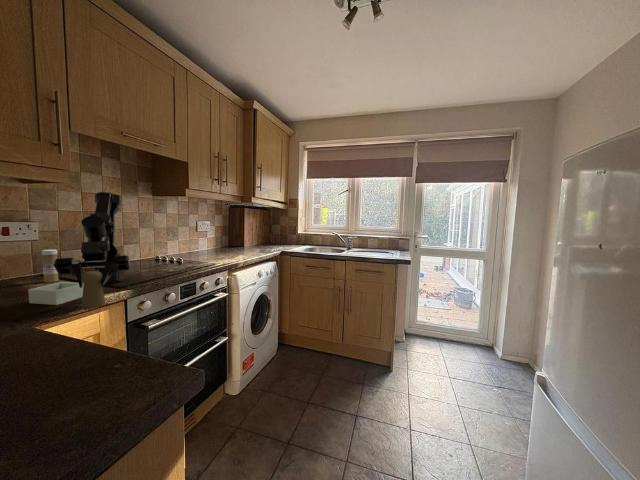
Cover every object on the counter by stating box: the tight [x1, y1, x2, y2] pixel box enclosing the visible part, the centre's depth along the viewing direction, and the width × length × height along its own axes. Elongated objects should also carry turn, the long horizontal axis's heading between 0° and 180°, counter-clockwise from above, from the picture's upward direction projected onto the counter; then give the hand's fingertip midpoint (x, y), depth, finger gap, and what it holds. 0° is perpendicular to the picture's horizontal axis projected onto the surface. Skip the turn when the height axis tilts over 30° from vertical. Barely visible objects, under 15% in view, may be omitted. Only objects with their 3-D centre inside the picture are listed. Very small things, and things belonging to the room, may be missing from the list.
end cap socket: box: [27, 281, 84, 306], centre depth 90 cm, size 10×10×4 cm
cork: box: [80, 270, 107, 309], centre depth 85 cm, size 6×6×11 cm
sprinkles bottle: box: [41, 249, 60, 283], centre depth 111 cm, size 5×5×14 cm
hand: (91, 286), depth 84 cm, fingers closed on cork, 5 cm apart
